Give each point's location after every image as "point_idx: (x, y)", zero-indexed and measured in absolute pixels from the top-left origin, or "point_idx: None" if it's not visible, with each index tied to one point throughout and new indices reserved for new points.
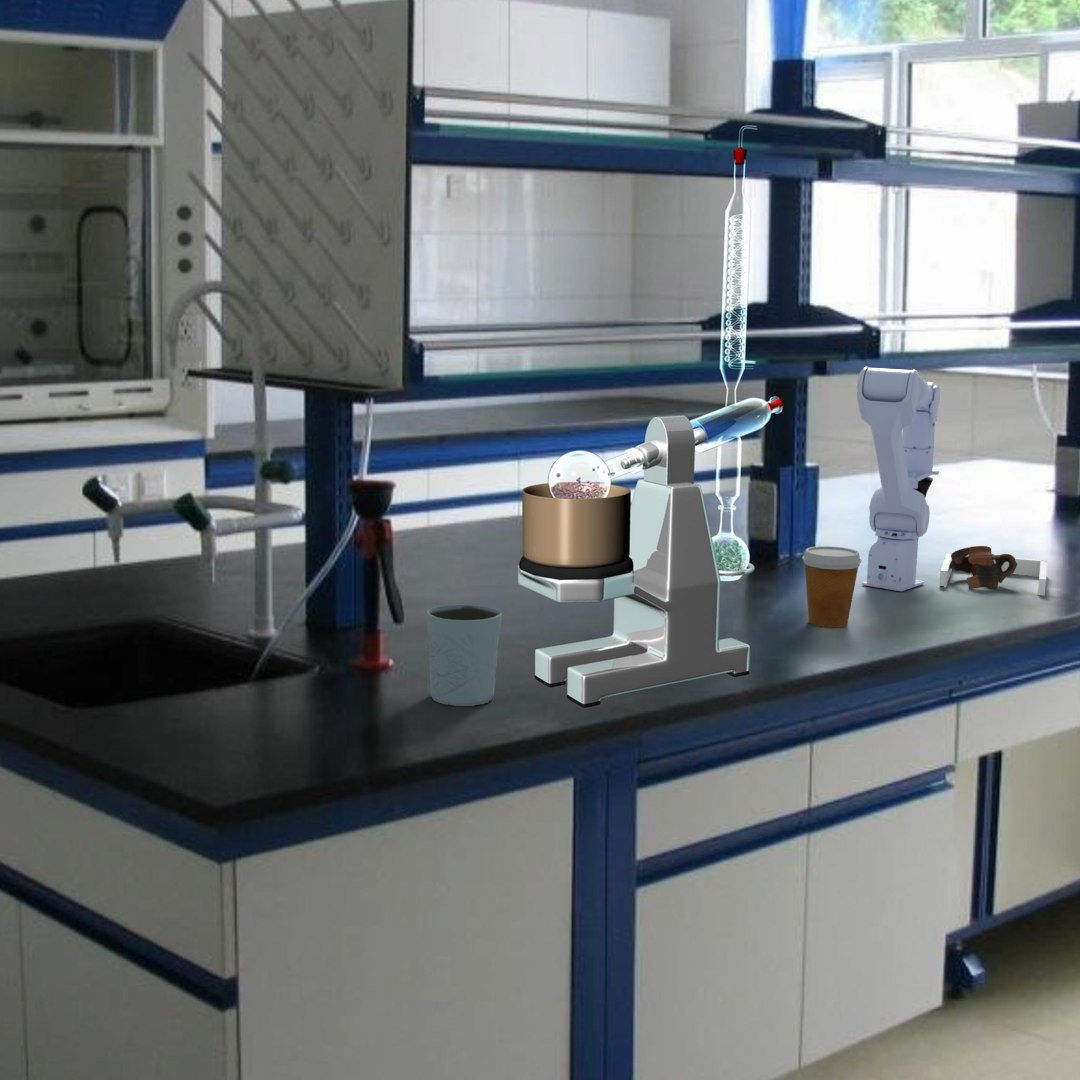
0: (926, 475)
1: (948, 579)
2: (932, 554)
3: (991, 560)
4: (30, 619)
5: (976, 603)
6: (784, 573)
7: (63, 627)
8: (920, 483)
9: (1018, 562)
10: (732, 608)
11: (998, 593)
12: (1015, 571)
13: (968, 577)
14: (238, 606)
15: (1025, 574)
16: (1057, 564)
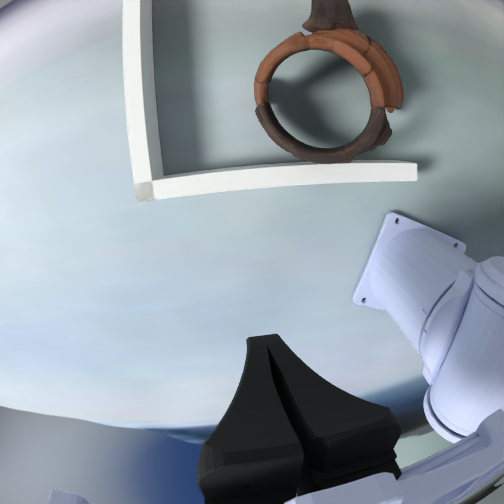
0: (449, 476)
1: None
2: (31, 254)
3: (377, 43)
4: (485, 496)
5: (491, 104)
6: None
7: (496, 487)
8: (393, 458)
9: (142, 10)
10: None
11: (400, 48)
12: (150, 23)
13: (392, 108)
14: (476, 492)
15: (151, 6)
16: (16, 14)
